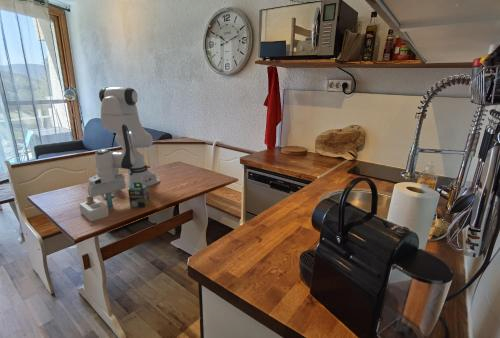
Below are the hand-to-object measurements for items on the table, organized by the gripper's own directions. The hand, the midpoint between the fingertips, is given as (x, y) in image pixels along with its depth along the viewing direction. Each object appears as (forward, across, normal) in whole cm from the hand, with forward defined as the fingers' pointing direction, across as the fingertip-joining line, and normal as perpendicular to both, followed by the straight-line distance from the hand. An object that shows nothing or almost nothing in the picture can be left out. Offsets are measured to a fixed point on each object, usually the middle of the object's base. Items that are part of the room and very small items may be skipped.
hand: (109, 199), depth 157 cm
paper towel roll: (+5, -14, -26) cm, 30 cm away
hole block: (+5, +10, +3) cm, 12 cm away
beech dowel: (+5, +10, 0) cm, 11 cm away
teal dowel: (+5, 0, 0) cm, 5 cm away
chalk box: (+5, -14, +9) cm, 18 cm away
